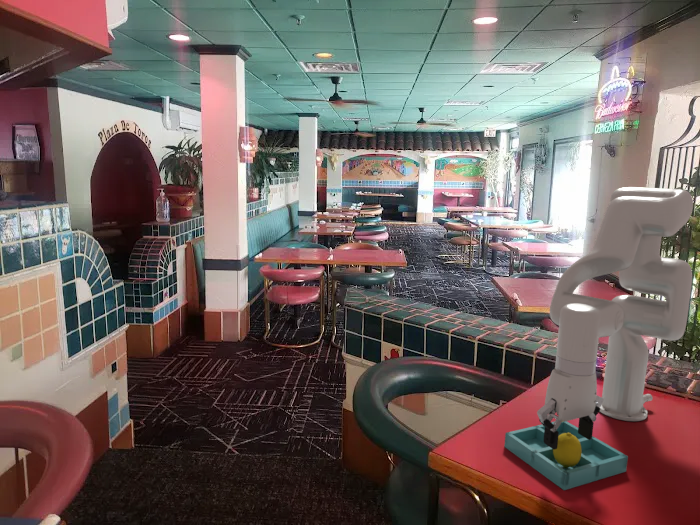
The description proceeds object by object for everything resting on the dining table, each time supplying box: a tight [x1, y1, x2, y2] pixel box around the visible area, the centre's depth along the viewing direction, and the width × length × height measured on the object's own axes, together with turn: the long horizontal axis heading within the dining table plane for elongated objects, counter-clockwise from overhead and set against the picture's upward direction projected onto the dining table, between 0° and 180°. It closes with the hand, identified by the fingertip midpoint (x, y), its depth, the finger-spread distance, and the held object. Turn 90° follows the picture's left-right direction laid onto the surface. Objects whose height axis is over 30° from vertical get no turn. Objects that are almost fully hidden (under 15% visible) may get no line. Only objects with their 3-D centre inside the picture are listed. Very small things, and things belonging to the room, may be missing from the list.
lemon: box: [553, 432, 582, 468], centre depth 110 cm, size 6×6×8 cm
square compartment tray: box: [504, 420, 629, 491], centre depth 116 cm, size 18×18×4 cm
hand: (567, 441), depth 110 cm, fingers open, 9 cm apart
